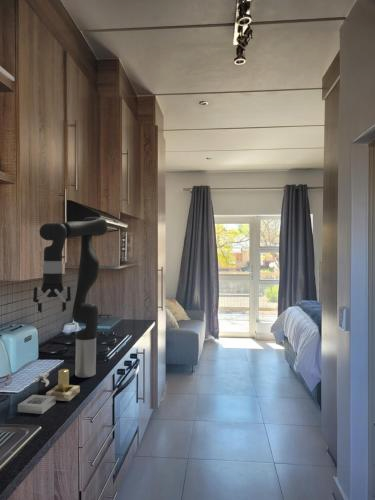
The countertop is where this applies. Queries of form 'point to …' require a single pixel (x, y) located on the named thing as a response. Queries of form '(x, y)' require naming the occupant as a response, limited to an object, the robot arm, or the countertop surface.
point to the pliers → (43, 379)
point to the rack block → (64, 393)
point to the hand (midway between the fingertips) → (52, 311)
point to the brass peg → (63, 380)
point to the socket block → (37, 404)
